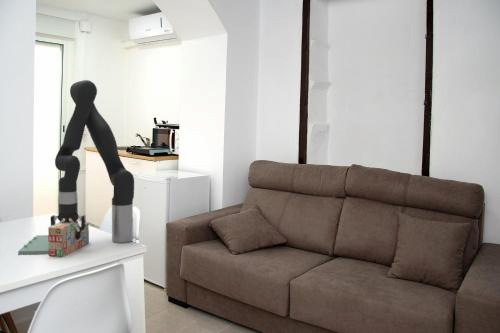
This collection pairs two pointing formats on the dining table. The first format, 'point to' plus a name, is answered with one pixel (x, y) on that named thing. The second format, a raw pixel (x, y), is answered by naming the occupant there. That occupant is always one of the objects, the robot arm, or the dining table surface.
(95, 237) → the dining table surface
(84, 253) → the dining table surface
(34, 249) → the baseplate
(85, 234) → the stack of blocks
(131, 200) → the robot arm
